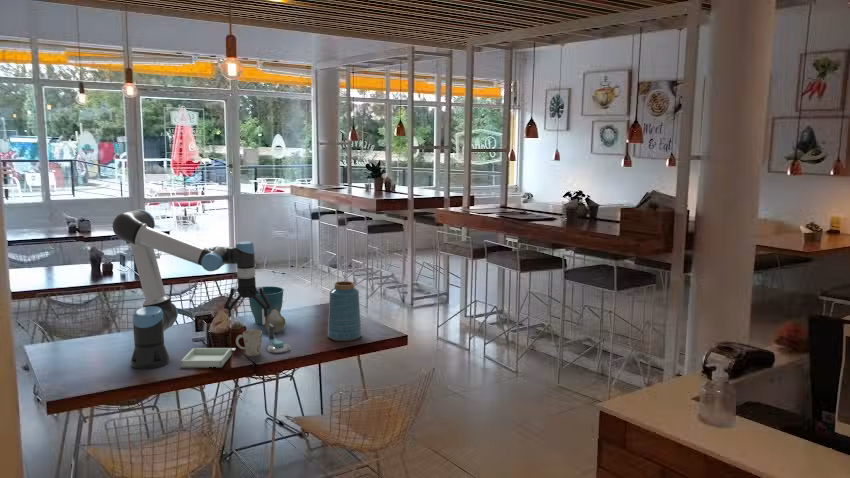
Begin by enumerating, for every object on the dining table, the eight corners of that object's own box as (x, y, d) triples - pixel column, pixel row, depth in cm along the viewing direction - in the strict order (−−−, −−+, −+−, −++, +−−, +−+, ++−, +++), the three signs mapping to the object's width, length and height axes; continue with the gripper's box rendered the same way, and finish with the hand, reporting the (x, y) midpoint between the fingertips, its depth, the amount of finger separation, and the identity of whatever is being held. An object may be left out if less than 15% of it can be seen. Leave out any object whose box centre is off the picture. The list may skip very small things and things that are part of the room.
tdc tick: (226, 350, 300) (226, 349, 300) (228, 349, 302) (228, 348, 302) (234, 350, 300) (234, 349, 300) (235, 349, 302) (235, 348, 302)
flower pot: (265, 328, 334) (265, 296, 332) (241, 323, 344) (240, 291, 341) (291, 320, 349) (290, 289, 347) (267, 315, 359) (266, 284, 356)
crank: (285, 347, 301) (284, 331, 300) (275, 348, 298) (275, 332, 297) (274, 338, 313) (274, 323, 312) (265, 340, 311) (264, 324, 310)
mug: (257, 357, 291) (257, 335, 290) (231, 355, 294) (230, 333, 292) (265, 351, 299) (265, 330, 298) (240, 349, 302) (239, 328, 300)
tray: (180, 367, 277) (180, 360, 277) (193, 354, 294) (193, 348, 294) (221, 367, 278) (221, 360, 278) (231, 354, 295) (231, 348, 294)
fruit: (284, 328, 335) (284, 305, 333) (286, 333, 326) (286, 310, 325) (263, 330, 332) (263, 306, 330) (265, 335, 323) (265, 311, 321)
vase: (367, 338, 320) (367, 284, 316) (337, 344, 311) (336, 288, 307) (351, 330, 334) (351, 278, 329) (322, 335, 324) (321, 282, 320)
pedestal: (265, 353, 297) (265, 350, 296) (270, 346, 306) (270, 343, 306) (288, 353, 297) (288, 350, 297) (291, 346, 307) (291, 343, 307)
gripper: (215, 278, 287) (217, 326, 290) (273, 278, 288) (275, 325, 291) (220, 275, 294) (222, 321, 298) (276, 274, 295) (278, 321, 298)
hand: (248, 323), depth 294 cm, fingers open, 13 cm apart
